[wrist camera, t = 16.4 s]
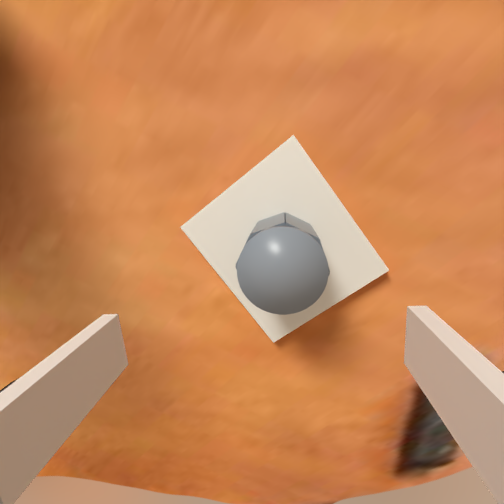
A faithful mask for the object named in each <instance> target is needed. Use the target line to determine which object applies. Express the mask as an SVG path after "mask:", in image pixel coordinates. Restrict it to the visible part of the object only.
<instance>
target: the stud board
mask: <svg viewBox="0 0 504 504" xmlns="http://www.w3.org/2000/svg"><path fill="white" fill-rule="evenodd" d="M283 212H286V213H289V214H291V215H293V216H295V217H297V218H299V219H301V220H303V221H305V222H307V223H309V224H311V226H312V227H313V229H314V231H315V232H316V234H317V235H318V237H319V239H320V241H321V245H322V248H323V251H324V253H325V256H326V258H327V262H328V267H329V270H330V274H329V276H328V281H327V285H326V287H325V289H324V292H323V293H322V295H321V296H320V298H319V299H318V300H317V301H316V302H315V303H314V304H313V305H311V306H310V307H308V308H307V309H305V310H303V311H300V312H297V313H294V314H287V315H279V314H273V313H269V312H266V311H264V310H261V309H260V308H258V307H256V306H255V305H254V304H252V303H251V302H250V301H249V300H248V299H247V297H246V296H245V295H244V293H243V292H242V290H241V288H240V285H239V282H238V278H237V269H236V267H235V266H236V263H237V261H238V258H239V256H240V254H241V252H242V250H243V248H244V246H245V244H246V242H247V239H248V237H249V235H250V233H251V232H252V230H253V229H254V227H255V226H256V224H257V222H258V221H260V220H263V219H266V218H269V217H272V216H274V215H277V214H280V213H283ZM181 229H182V230H183V231H184V232H185V234H186V235H187V236H188V237H189V239H190V240H191V241H192V242H193V244H194V245H195V246H196V247H197V249H198V250H199V251H200V252H201V254H202V255H203V256H204V257H205V258H206V260H207V261H208V262H209V263H210V265H211V266H212V267H213V268H214V270H215V271H216V272H217V273H218V275H219V276H220V277H221V278H222V280H223V281H224V282H225V283H226V284H227V286H228V287H229V288H230V289H231V291H232V292H233V293H234V294H235V296H236V297H237V298H238V299H239V301H240V302H241V303H242V304H243V306H244V307H245V308H246V309H247V311H248V312H249V313H250V314H251V315H252V317H253V318H254V319H255V320H256V322H257V323H258V324H259V325H260V327H261V328H262V329H263V330H264V332H265V333H266V334H267V335H268V337H269V338H270V339H271V340H272V341H273V343H274V342H275V341H277V340H279V339H280V338H282V337H283V336H285V335H287V334H288V333H290V332H291V331H293V330H295V329H296V328H298V327H299V326H301V325H303V324H304V323H306V322H307V321H309V320H311V319H312V318H314V317H315V316H317V315H319V314H320V313H322V312H323V311H325V310H327V309H328V308H330V307H331V306H333V305H335V304H336V303H338V302H339V301H341V300H343V299H344V298H346V297H347V296H349V295H351V294H352V293H354V292H355V291H357V290H359V289H360V288H362V287H363V286H365V285H367V284H368V283H370V282H371V281H373V280H375V279H376V278H378V277H379V276H381V275H383V274H384V273H386V272H387V271H389V269H388V268H387V266H386V265H385V264H384V262H383V261H382V259H381V258H380V256H379V255H378V254H377V252H376V251H375V249H374V248H373V247H372V245H371V244H370V242H369V241H368V240H367V238H366V237H365V235H364V234H363V232H362V231H361V230H360V228H359V227H358V225H357V224H356V223H355V221H354V220H353V218H352V217H351V216H350V214H349V213H348V211H347V210H346V208H345V207H344V206H343V204H342V203H341V201H340V200H339V199H338V197H337V196H336V194H335V193H334V192H333V190H332V189H331V187H330V186H329V184H328V183H327V182H326V180H325V179H324V177H323V176H322V175H321V173H320V172H319V170H318V169H317V167H316V166H315V165H314V163H313V162H312V160H311V159H310V158H309V156H308V155H307V153H306V152H305V151H304V149H303V148H302V146H301V145H300V143H299V142H298V141H297V139H296V138H295V136H294V135H293V136H292V137H290V138H289V139H288V140H287V141H285V142H284V143H283V144H282V145H281V146H279V147H278V148H277V149H276V150H274V151H273V152H272V153H271V154H270V155H268V156H267V157H266V158H265V159H263V160H262V161H261V162H260V163H258V164H257V165H256V166H255V167H254V168H252V169H251V170H250V171H249V172H247V173H246V174H245V175H244V176H243V177H241V178H240V179H239V180H238V181H236V182H235V183H234V184H233V185H231V186H230V187H229V188H228V189H227V190H225V191H224V192H223V193H222V194H220V195H219V196H218V197H217V198H216V199H214V200H213V201H212V202H211V203H209V204H208V205H207V206H206V207H204V208H203V209H202V210H201V211H200V212H198V213H197V214H196V215H195V216H193V217H192V218H191V219H190V220H189V221H187V222H186V223H185V224H184V225H182V226H181Z"/></svg>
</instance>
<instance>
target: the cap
mask: <svg viewBox="0 0 504 504" xmlns="http://www.w3.org/2000/svg"><path fill="white" fill-rule="evenodd" d="M235 267H236V269H237V278H238V282H239V285H240V288H241V290H242V292H243V293H244V295H245V296H246V297H247V299H248V300H249V301H250V302H251V303H252V304H254V305H255V306H256V307H258V308H260V309H261V310H264V311H266V312H269V313H273V314H279V315H287V314H294V313H297V312H300V311H303V310H305V309H307V308H308V307H310V306H311V305H313V304H314V303H315V302H316V301H317V300H318V299H319V298H320V296H321V295H322V293H323V292H324V289H325V287H326V285H327V281H328V276H329V274H330V270H329V267H328V262H327V258H326V256H325V253H324V251H323V248H322V245H321V241H320V239H319V237H318V235H317V234H316V232H315V231H314V229H313V227H312V226H311V224H309V223H307V222H305V221H303V220H301V219H299V218H297V217H295V216H293V215H291V214H289V213H286V212H283V213H280V214H277V215H274V216H272V217H269V218H266V219H263V220H260V221H258V222H257V224H256V226H255V227H254V229H253V230H252V232H251V233H250V235H249V237H248V239H247V242H246V244H245V246H244V248H243V250H242V252H241V254H240V256H239V258H238V261H237V263H236V266H235Z"/></svg>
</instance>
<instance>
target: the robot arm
mask: <svg viewBox="0 0 504 504" xmlns="http://www.w3.org/2000/svg"><path fill="white" fill-rule="evenodd" d="M404 364H405V365H406V367H407V368H408V370H409V371H410V373H411V374H412V376H413V377H414V379H415V380H416V382H417V383H418V385H419V386H420V388H421V389H422V391H423V392H424V394H425V395H426V397H427V398H428V400H429V401H430V403H431V404H432V406H433V407H434V409H435V410H436V412H437V413H438V415H439V416H440V418H441V419H442V421H443V422H444V424H445V425H446V427H447V428H448V430H449V431H450V433H451V434H452V436H453V437H454V439H455V440H456V442H457V443H458V445H459V446H460V448H461V449H462V451H463V452H464V454H465V455H466V457H467V458H468V460H469V461H470V463H471V464H472V466H473V468H474V469H475V471H476V472H477V473H478V475H479V477H480V478H481V479H482V481H483V482H484V484H485V485H486V487H487V488H488V490H489V492H490V493H491V494H492V496H493V497H494V499H495V501H496V502H497V504H504V371H500V370H499V369H498V368H497V367H496V366H494V365H493V364H492V363H491V362H490V361H489V360H488V359H486V358H485V357H484V356H483V355H482V354H481V353H480V352H478V351H477V350H476V349H475V348H474V347H473V346H472V345H470V344H469V343H468V342H467V341H466V340H465V339H464V338H463V337H461V336H460V335H459V334H458V333H457V332H456V331H455V330H453V329H452V328H451V327H450V326H449V325H448V324H447V323H445V322H444V321H443V320H442V319H441V318H440V317H439V316H437V315H436V314H435V313H434V312H433V311H432V310H431V309H429V308H428V307H427V306H407V320H406V337H405V355H404ZM127 366H128V360H127V355H126V350H125V345H124V340H123V335H122V331H121V326H120V321H119V316H118V314H103V315H102V316H101V317H99V318H98V319H97V320H95V321H94V322H93V323H91V324H90V325H89V326H87V327H86V328H85V329H83V330H82V331H81V332H79V333H78V334H77V335H76V336H74V337H73V338H72V339H70V340H69V341H68V342H66V343H65V344H64V345H62V346H61V347H60V348H58V349H57V350H56V351H54V352H53V353H52V354H51V355H49V356H48V357H47V358H45V359H44V360H43V361H41V362H40V363H39V364H37V365H36V366H35V367H33V368H32V369H31V370H29V371H28V372H27V373H26V374H24V375H23V376H22V377H20V378H18V379H17V380H15V381H13V382H11V383H10V384H8V385H7V386H6V387H4V388H3V389H2V390H0V504H14V502H15V501H16V500H17V499H18V498H19V496H20V495H21V494H22V493H23V492H24V490H25V489H26V488H27V486H29V484H30V483H31V482H32V481H33V479H34V478H35V477H36V476H37V475H38V473H39V472H40V471H41V470H42V469H43V467H44V466H45V465H46V464H47V463H48V461H49V460H50V459H51V458H52V456H53V455H54V454H55V453H56V452H57V450H58V449H59V448H60V447H61V446H62V444H63V443H64V442H65V441H66V439H67V438H68V437H69V436H70V435H71V433H72V432H73V431H74V430H75V429H76V427H77V426H78V425H79V424H80V423H81V421H82V420H83V419H84V418H85V416H86V415H87V414H88V413H89V412H90V410H91V409H92V408H93V407H94V406H95V404H96V403H97V402H98V401H99V400H100V398H101V397H102V396H103V395H104V393H105V392H106V391H107V390H108V389H109V387H110V386H111V385H112V384H113V383H114V381H115V380H116V379H117V378H118V377H119V375H120V374H121V373H122V372H123V370H124V369H125V368H126V367H127Z"/></svg>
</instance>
